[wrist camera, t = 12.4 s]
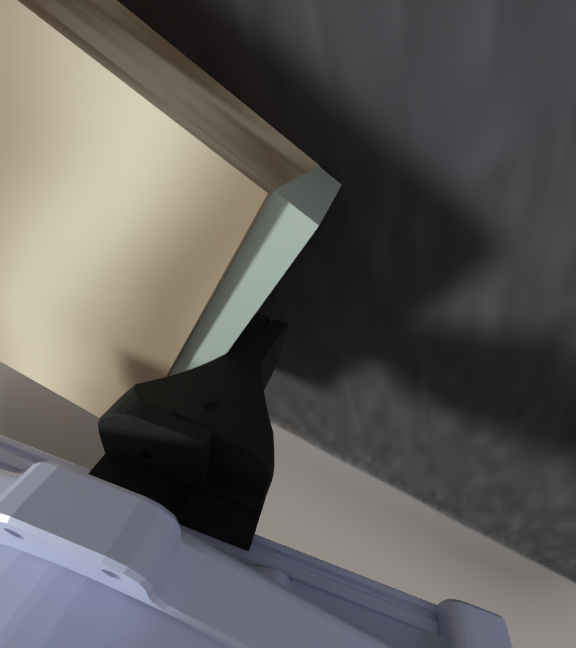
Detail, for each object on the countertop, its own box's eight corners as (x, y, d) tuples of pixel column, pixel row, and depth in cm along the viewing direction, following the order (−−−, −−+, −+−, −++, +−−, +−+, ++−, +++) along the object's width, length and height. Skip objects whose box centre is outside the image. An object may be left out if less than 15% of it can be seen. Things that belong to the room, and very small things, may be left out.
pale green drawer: (341, 184, 11) (319, 225, 6) (223, 351, 18) (161, 442, 13) (13, -83, 9) (-477, -391, 4) (17, 217, 16) (-160, 257, 11)
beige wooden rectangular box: (319, 165, 11) (268, 193, 5) (209, 338, 18) (132, 436, 12) (-9, -102, 9) (-665, -526, 3) (4, 204, 16) (-208, 243, 10)
